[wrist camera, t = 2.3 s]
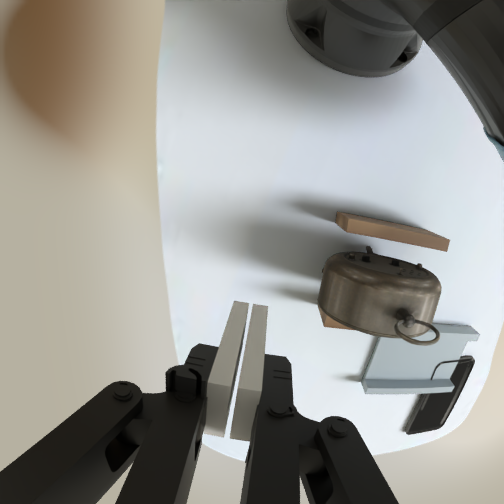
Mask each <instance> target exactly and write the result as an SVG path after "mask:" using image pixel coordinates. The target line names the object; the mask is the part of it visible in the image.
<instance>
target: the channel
mask: <svg viewBox="0 0 504 504" xmlns="http://www.w3.org/2000/svg"><path fill="white" fill-rule="evenodd" d="M335 223H336V224H337V225H338V226H340V227H341V228H342V229H343V230H344V231H346V232H349V233H354V234H360V235H365V236H370V237H376V238H381V239H386V240H391V241H396V242H402V243H407V244H412V245H417V246H421V247H426V248H431V249H436V250H441V251H445V252H447V250H448V246H449V242H450V240H449V239H446V238H444V237H442V236H440V235H437V234H435V233H433V232H430V231H428V230H424V229H420V228H415V227H411V226H406V225H402V224H397V223H392V222H388V221H383V220H378V219H373V218H368V217H363V216H358V215H353V214H348V213H343V212H337V216H336V222H335ZM318 308H319V311H320V315H321V318H322V322H323V325H324V327H331V328H340V329H349V330H354V329H352V328H349V327H347V326H344V325H342V324H340V323H338V322H337V321H335V320H333V319H332V318H330V317H329V316H328V315H326V314H325V313H324V312H323V311H322V309H321V308H320V307H319V304H318Z"/></svg>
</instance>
